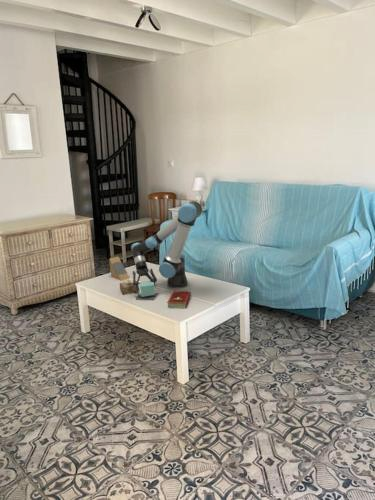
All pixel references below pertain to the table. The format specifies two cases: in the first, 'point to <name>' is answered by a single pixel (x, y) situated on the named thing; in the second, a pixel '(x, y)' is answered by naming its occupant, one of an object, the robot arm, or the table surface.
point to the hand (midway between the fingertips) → (147, 292)
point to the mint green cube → (147, 288)
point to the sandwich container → (118, 269)
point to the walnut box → (128, 287)
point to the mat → (146, 297)
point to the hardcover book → (179, 299)
